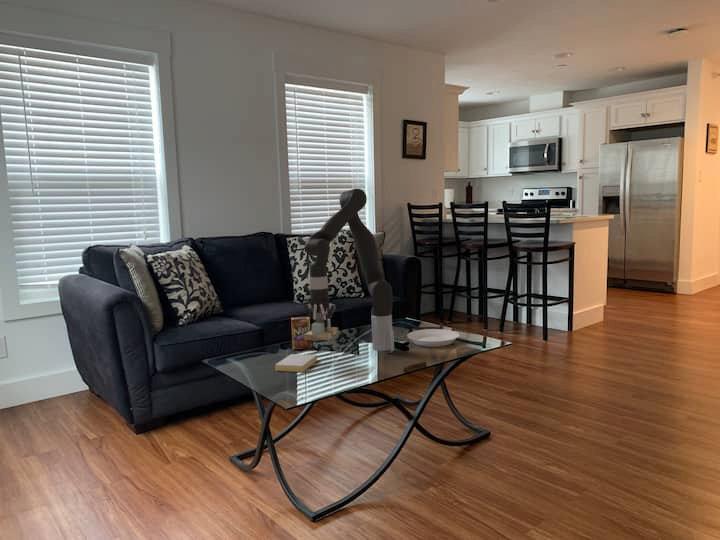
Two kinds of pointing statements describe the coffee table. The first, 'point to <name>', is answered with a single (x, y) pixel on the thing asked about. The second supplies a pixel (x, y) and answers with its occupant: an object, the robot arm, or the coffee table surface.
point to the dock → (296, 363)
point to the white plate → (433, 337)
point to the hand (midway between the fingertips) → (321, 328)
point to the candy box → (300, 332)
